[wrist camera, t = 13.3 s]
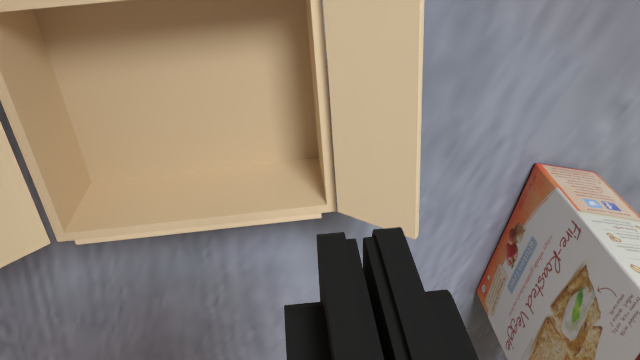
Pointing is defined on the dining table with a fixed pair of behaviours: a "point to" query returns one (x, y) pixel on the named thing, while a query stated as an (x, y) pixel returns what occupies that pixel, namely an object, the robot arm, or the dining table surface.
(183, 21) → the carton
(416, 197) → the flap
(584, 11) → the dining table surface
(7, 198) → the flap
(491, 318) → the cracker box
